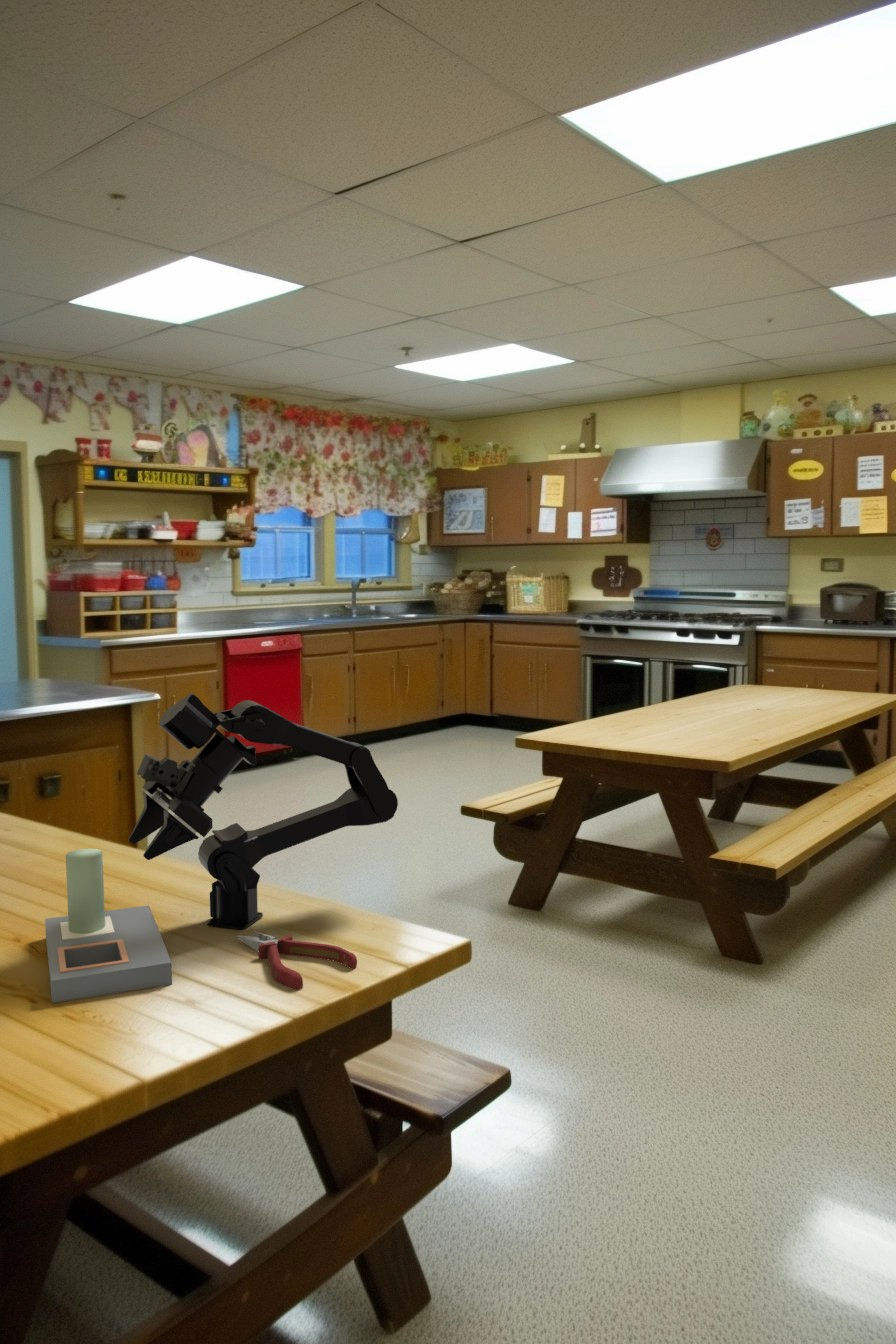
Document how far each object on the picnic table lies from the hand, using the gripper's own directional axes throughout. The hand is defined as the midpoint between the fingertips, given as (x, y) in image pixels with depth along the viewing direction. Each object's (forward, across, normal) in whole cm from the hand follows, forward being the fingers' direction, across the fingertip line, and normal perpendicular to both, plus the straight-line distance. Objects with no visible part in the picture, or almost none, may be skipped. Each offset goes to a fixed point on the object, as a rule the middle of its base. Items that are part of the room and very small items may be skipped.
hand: (137, 850), depth 150 cm
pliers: (-2, +18, +23) cm, 29 cm away
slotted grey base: (+14, +6, +5) cm, 16 cm away
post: (+13, 0, +2) cm, 13 cm away
